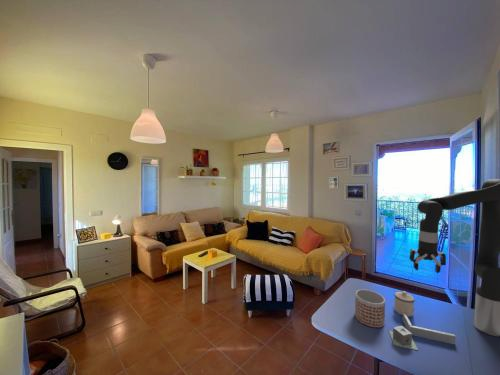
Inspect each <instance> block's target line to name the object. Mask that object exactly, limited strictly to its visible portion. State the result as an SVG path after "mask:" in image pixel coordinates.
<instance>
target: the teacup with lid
mask: <svg viewBox="0 0 500 375" xmlns="http://www.w3.org/2000/svg"><path fill="white" fill-rule="evenodd" d="M415 301H416V300H415V298H414V297H413V295H411V294H409V293H407V291H405V290H403V291H396V292H395V293H394V311H395V312H396V313H397V314H398V315H401V316H403V313H405V314H406V315H407V317H408V318H409V317H413V316H414V310H415V308H414V307H415Z"/></svg>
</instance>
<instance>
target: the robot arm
mask: <svg viewBox="0 0 500 375" xmlns="http://www.w3.org/2000/svg"><path fill="white" fill-rule="evenodd" d="M479 203H480V204H481V218H480V219H481V220H480V228H479V241H478V253H477V257H476V260H475V264H474V271H475V274H476V276H478V277H479V278H480V279H481V284H480V285H479V286H476V290H475V302H474V303H475V306H474V318H473V319H474V320H473V326H474V327H475V328H476V329H477V330H479V331H480V332H482V333H484V334H487V335H490V336H493V337H500V266H499V258H500V178H490V179H487V180H485V181H484V182H483V183H482V185H481V188H480V189H475V190H469V191H461V192H456V193H452V194H449V195H445V196H441V197H434V198H429V199H424V200H421V201H419V202H418V204H417V210H418V211H419V212H420V213H421V214H424V215H425V217H424V218H423V219H420V223H419V232H418V245H417V247H418V248H417V249H413V248H410V251H409V260H410V261H411V262H412V263H413V268H414V269H415V271H419V262H421V261H423V260H424V261H431V262H432V261H433V262H434V263H435V267H434V270H435V273H437V274H439V273H441V266H446V265H447V257H446V255H447V254H446V253H445V252H443V251H440V252H438V250H439V248H438V247H439V223H440V221H441V219H442V216H443V213H444V212H443V211H451V210H457V209H459V208H460V209H461V208H462V207H463V208H464V207H467V206H471V205H475V204H479ZM416 254H417V255H416ZM415 255H416V257H415ZM438 256H439V258H440V261H439V260H438V258H437V257H438Z"/></svg>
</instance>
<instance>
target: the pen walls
mask: <svg viewBox="0 0 500 375" xmlns="http://www.w3.org/2000/svg"><path fill="white" fill-rule="evenodd" d="M402 322H403V324H404V327H405V329H407V330H408V331H410V332H411V333H412V336H413V337H414V336H415V337H419V338H424V339H428V340H432V341H436V342H443V343H445V344H451V345H454V344H455V345H456V338H457V337H456V335H455V334H454V333H449V332H445V331H444V332H443V331H440V330H435V329H429V328H425V327H421V326H416V325H412V323H411V321H410V319H409V317H408V316H407V315H406V314H405V313H403V315H402Z"/></svg>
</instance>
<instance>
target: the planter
mask: <svg viewBox="0 0 500 375" xmlns="http://www.w3.org/2000/svg"><path fill="white" fill-rule="evenodd" d="M354 299H355V300H354V302H355V304H354V305H355V306H354V316H355V318H356V319H357V321H358V322H360V324H363V325H364V326H367V327H369V328H376V329H377V328H382V327H384V325H385V319H386V318H385V313H386V299H385V297H384V296H383V295H381V294H380V293H378V292H376V291H373V290H370V289H364V288H362V289H358V290H356V291H355V298H354Z"/></svg>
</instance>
